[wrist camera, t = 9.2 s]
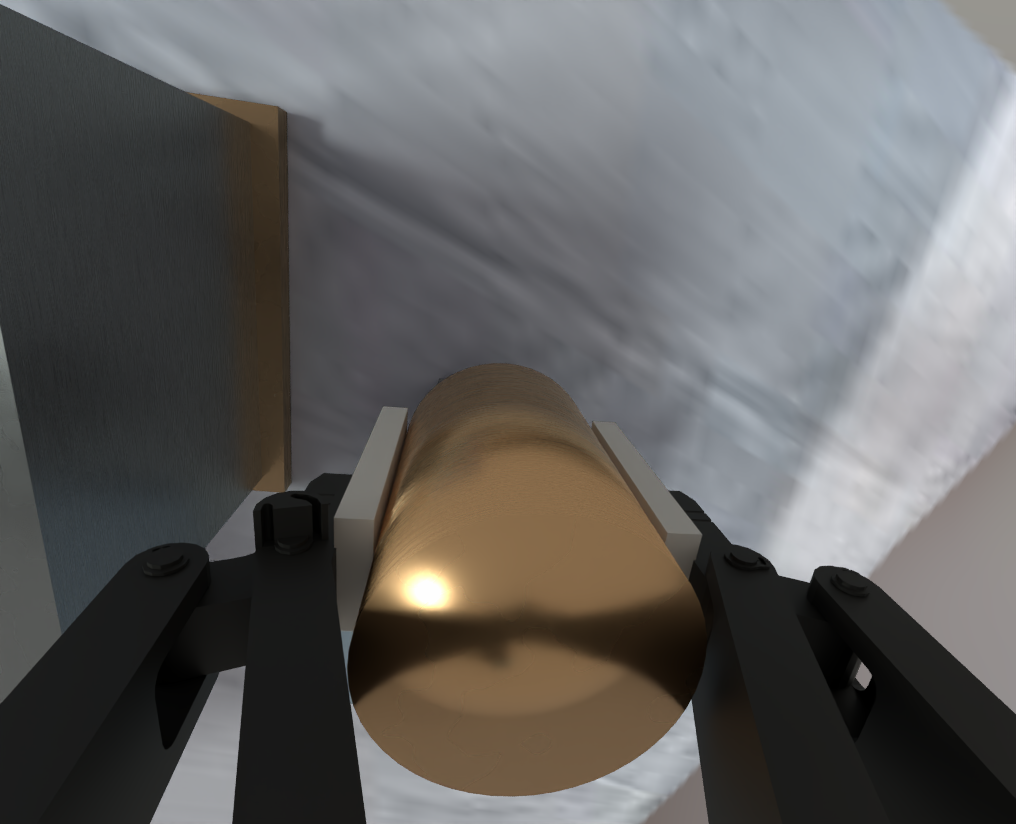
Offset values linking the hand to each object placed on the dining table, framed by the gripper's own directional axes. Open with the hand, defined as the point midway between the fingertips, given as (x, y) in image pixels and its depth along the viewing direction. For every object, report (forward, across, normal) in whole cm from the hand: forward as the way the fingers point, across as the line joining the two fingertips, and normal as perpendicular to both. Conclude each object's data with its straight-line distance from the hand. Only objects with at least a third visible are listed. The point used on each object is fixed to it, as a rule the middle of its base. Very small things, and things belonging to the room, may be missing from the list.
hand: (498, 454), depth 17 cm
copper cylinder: (0, 0, 0) cm, 0 cm away
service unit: (+19, +16, 0) cm, 26 cm away
